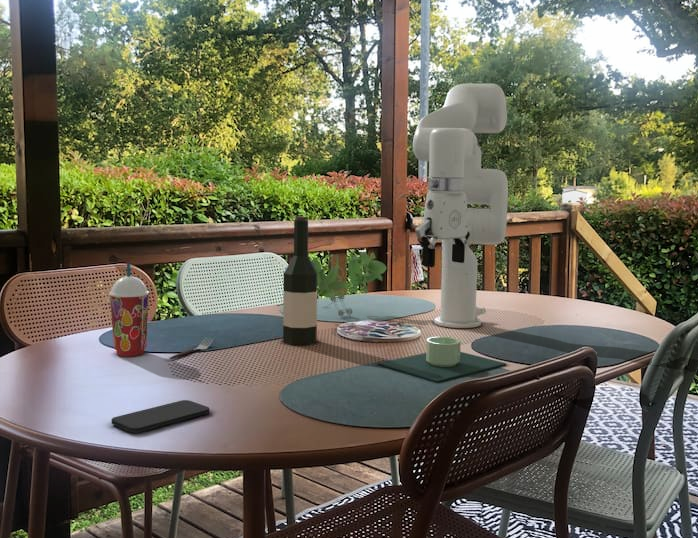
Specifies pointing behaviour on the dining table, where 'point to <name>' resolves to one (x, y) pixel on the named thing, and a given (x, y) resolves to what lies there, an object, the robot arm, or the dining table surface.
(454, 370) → the placemat
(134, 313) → the smoothie
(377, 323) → the dining table surface
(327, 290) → the plant cuttings
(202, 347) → the fork
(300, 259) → the wine bottle
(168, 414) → the phone
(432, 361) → the bowl
